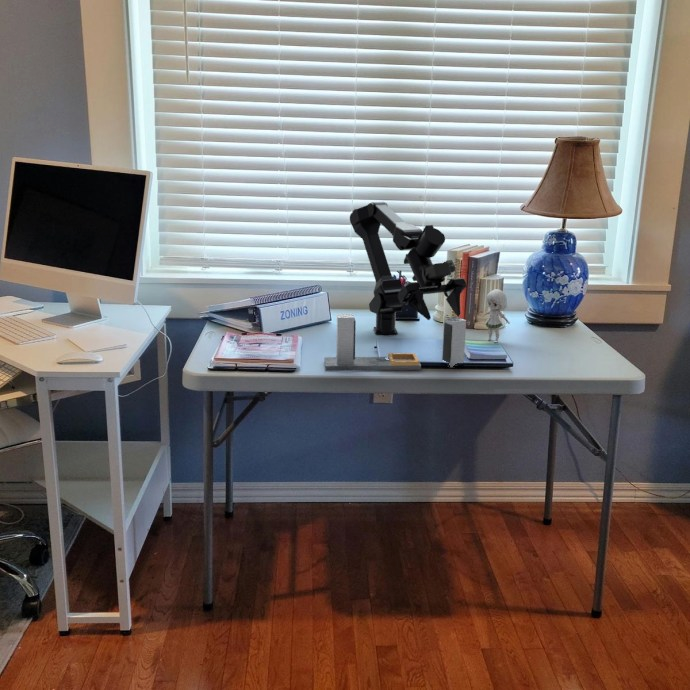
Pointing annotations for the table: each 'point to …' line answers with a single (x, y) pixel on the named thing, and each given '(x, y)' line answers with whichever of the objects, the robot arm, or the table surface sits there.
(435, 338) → the table surface
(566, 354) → the table surface
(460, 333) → the gray block
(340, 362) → the rail
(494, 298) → the figurine
